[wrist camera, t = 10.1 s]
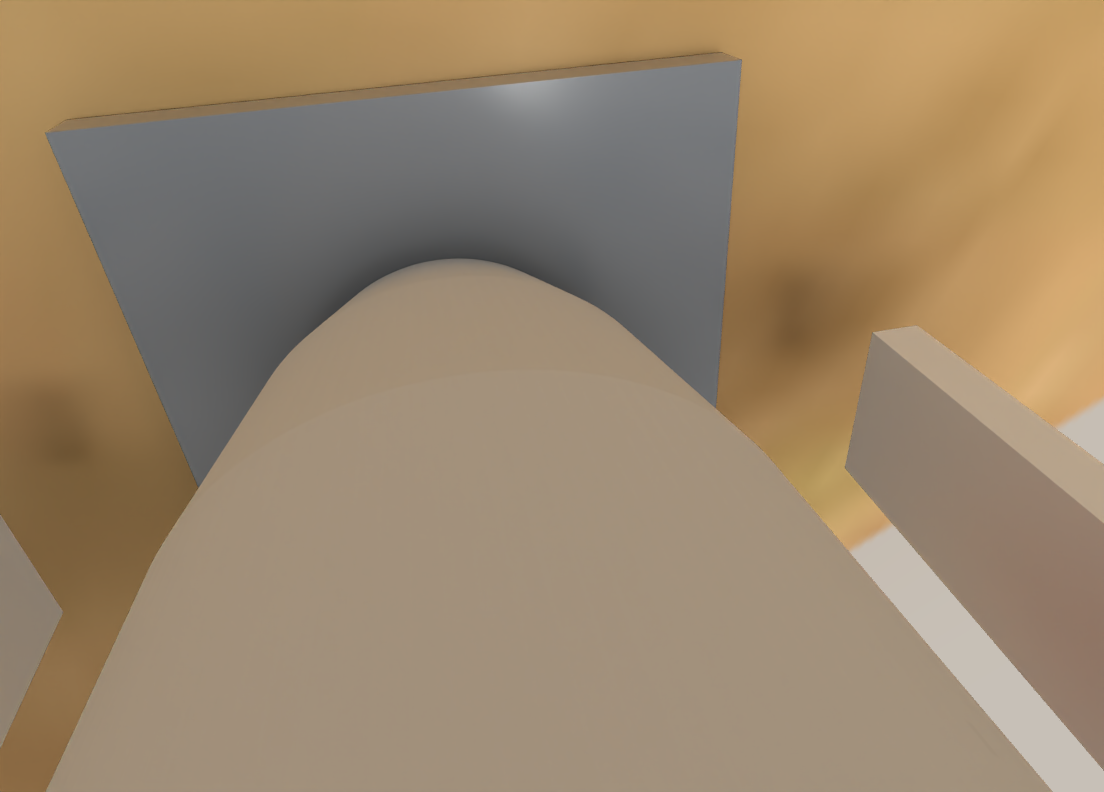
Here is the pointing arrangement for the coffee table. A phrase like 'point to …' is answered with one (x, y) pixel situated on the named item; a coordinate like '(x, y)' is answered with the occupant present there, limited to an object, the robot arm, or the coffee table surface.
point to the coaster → (407, 213)
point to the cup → (511, 585)
